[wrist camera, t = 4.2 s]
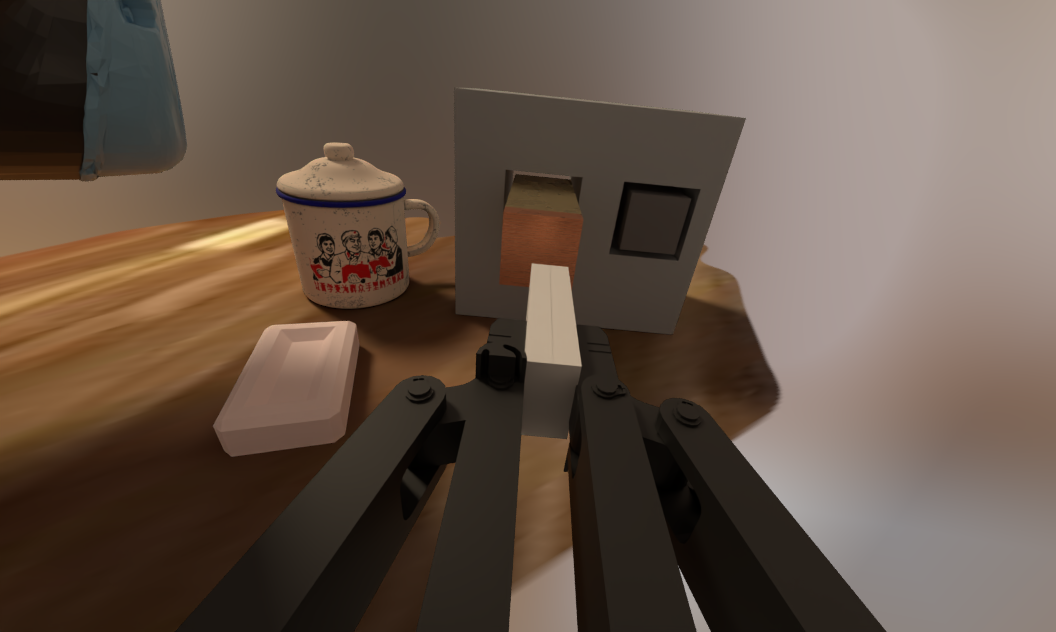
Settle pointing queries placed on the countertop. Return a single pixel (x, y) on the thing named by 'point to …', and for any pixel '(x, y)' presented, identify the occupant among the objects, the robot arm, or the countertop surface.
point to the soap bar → (292, 389)
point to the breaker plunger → (539, 228)
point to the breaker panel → (591, 199)
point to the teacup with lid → (350, 229)
